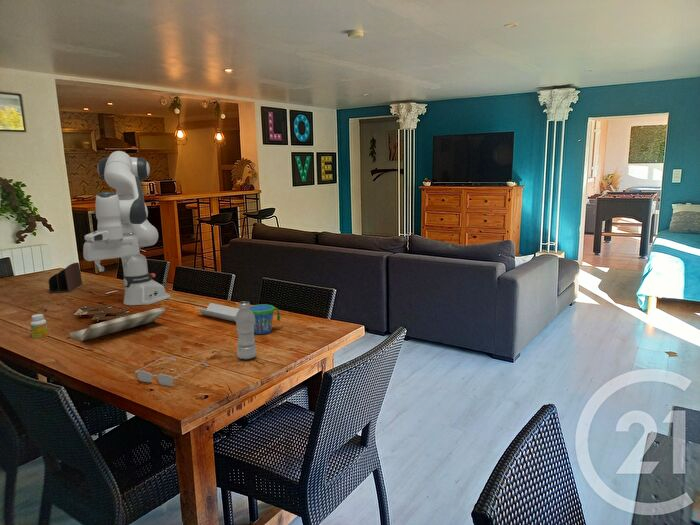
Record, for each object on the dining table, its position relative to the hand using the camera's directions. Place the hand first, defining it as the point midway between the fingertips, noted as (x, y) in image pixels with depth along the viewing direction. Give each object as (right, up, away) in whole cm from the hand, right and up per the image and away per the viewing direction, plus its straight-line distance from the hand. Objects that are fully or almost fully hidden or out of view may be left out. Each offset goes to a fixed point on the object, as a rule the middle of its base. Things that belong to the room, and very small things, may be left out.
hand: (114, 269), depth 193 cm
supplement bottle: (-30, -28, +2) cm, 41 cm away
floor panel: (+1, -26, +6) cm, 27 cm away
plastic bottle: (+57, -31, -22) cm, 68 cm away
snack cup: (+57, -25, +5) cm, 63 cm away
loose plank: (+3, -22, +3) cm, 22 cm away
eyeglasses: (+35, -34, -33) cm, 59 cm away
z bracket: (+38, -22, +26) cm, 51 cm away
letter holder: (-67, -12, +85) cm, 109 cm away
